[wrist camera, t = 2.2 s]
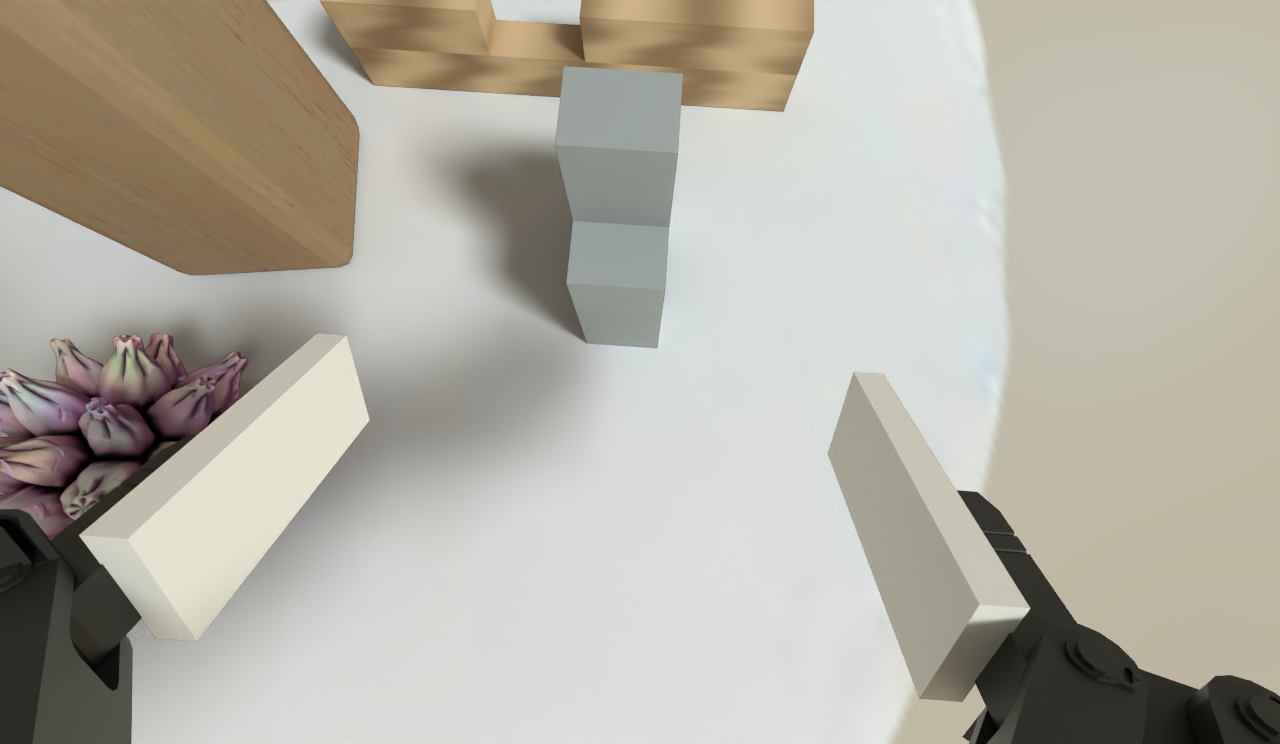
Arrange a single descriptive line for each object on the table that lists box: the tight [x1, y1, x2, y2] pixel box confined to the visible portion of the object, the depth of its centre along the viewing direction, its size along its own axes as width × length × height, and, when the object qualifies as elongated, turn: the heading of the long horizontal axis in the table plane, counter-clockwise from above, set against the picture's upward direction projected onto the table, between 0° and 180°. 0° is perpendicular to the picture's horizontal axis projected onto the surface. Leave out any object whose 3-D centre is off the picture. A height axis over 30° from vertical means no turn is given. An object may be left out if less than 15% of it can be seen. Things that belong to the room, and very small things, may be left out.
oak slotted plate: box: [319, 0, 814, 111], centre depth 31 cm, size 26×2×6 cm, turn 86°
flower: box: [0, 333, 249, 540], centre depth 23 cm, size 12×12×12 cm
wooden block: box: [0, 0, 359, 275], centre depth 23 cm, size 10×10×20 cm
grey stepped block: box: [555, 66, 683, 348], centre depth 24 cm, size 8×4×14 cm, turn 176°
